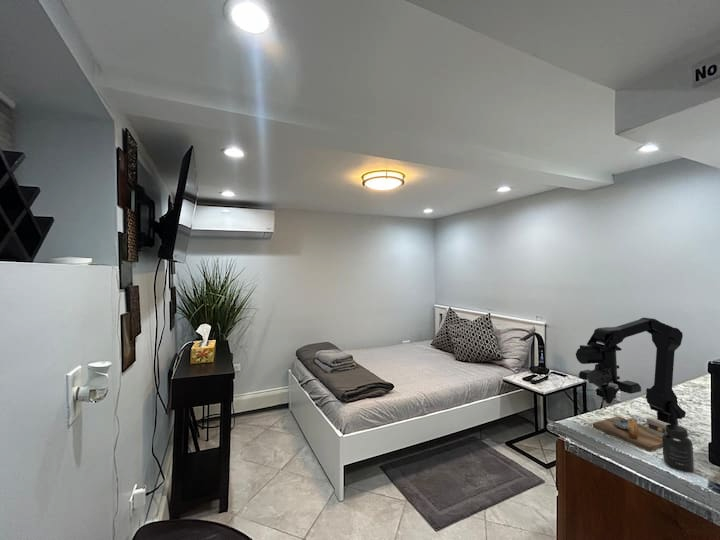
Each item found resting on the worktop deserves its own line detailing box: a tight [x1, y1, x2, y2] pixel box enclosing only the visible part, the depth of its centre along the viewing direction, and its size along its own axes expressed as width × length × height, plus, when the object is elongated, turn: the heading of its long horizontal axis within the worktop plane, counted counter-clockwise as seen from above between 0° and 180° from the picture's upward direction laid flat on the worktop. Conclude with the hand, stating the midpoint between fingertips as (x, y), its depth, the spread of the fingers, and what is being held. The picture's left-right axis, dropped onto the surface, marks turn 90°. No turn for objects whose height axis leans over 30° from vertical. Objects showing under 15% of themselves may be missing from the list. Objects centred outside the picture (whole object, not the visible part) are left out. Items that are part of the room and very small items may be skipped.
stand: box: [592, 415, 669, 453], centre depth 119 cm, size 15×19×6 cm
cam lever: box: [613, 417, 638, 438], centre depth 118 cm, size 13×7×6 cm, turn 156°
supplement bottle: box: [662, 424, 695, 473], centre depth 99 cm, size 7×7×12 cm
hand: (608, 403), depth 119 cm, fingers closed
